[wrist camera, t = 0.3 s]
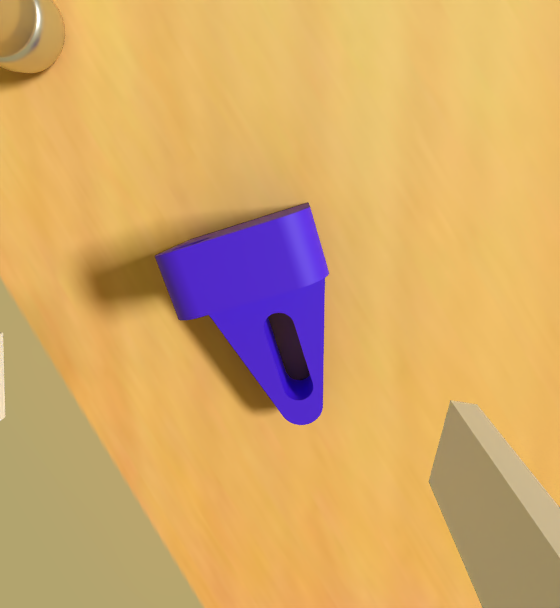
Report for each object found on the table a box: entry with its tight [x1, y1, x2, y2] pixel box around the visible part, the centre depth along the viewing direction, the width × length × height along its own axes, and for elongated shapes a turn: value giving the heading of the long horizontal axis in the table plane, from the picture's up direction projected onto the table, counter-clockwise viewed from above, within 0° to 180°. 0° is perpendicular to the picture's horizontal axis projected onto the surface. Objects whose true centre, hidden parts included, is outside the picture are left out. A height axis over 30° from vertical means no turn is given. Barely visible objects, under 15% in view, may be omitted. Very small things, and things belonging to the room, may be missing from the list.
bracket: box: [155, 203, 329, 425], centre depth 35 cm, size 18×11×12 cm, turn 17°
